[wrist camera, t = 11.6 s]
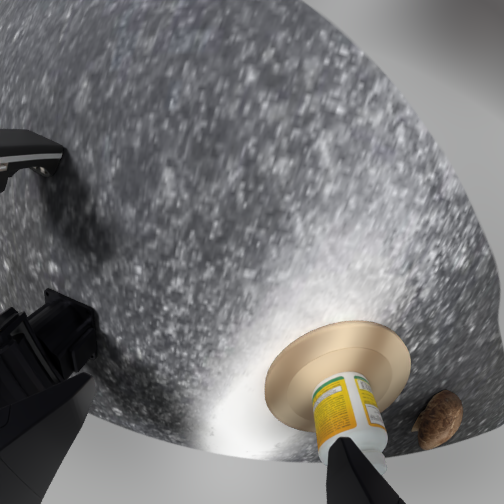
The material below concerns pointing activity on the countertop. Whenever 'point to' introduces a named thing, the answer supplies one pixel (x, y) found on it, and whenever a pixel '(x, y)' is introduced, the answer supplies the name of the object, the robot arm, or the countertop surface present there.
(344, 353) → the plate
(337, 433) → the supplement bottle
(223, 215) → the countertop surface
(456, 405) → the mushroom
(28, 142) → the battery charger
